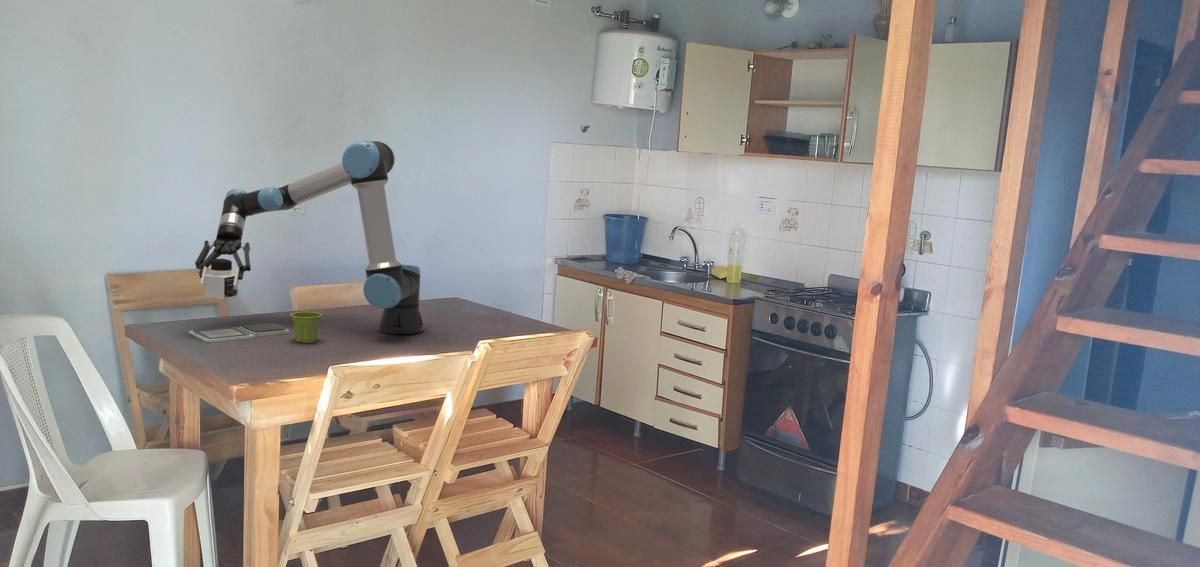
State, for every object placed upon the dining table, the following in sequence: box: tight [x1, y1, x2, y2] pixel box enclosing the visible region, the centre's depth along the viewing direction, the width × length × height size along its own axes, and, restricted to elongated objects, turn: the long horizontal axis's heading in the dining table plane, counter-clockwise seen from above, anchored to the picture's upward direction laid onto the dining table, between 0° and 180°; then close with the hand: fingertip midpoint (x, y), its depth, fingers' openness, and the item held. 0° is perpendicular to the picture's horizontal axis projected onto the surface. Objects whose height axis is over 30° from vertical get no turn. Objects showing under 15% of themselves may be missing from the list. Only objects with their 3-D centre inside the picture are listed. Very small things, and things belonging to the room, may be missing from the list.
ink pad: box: [237, 322, 291, 338], centre depth 302 cm, size 12×12×1 cm
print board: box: [187, 326, 256, 343], centre depth 293 cm, size 15×15×1 cm
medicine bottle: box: [204, 258, 239, 300], centre depth 290 cm, size 7×7×12 cm
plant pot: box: [290, 311, 323, 344], centre depth 292 cm, size 9×9×9 cm
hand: (218, 286), depth 287 cm, fingers closed on medicine bottle, 9 cm apart
